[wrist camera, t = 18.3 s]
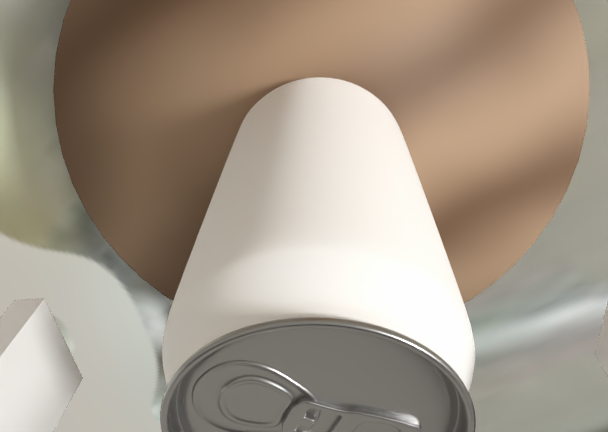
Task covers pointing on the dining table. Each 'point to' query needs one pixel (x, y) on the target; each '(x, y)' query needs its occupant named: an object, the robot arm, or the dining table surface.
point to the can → (318, 282)
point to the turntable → (330, 64)
